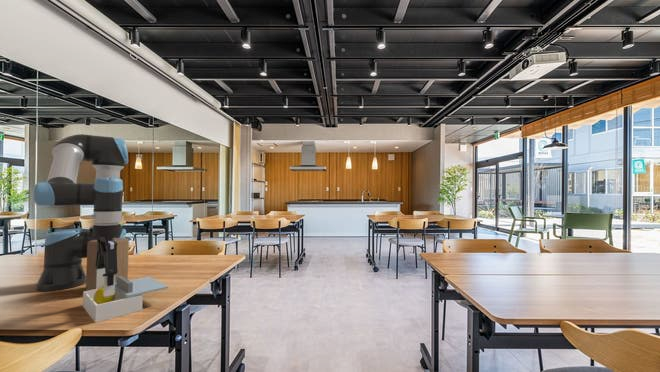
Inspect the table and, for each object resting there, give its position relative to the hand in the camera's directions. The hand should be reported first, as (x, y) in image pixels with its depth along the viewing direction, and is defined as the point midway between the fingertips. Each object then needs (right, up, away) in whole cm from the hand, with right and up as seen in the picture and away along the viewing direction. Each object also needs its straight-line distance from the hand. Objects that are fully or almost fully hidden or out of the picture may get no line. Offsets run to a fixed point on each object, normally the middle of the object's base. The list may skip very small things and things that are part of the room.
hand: (105, 291), depth 93 cm
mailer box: (+2, -6, +1) cm, 6 cm away
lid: (+7, -1, +7) cm, 10 cm away
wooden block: (-16, -7, +21) cm, 27 cm away
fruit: (0, -6, -1) cm, 6 cm away
